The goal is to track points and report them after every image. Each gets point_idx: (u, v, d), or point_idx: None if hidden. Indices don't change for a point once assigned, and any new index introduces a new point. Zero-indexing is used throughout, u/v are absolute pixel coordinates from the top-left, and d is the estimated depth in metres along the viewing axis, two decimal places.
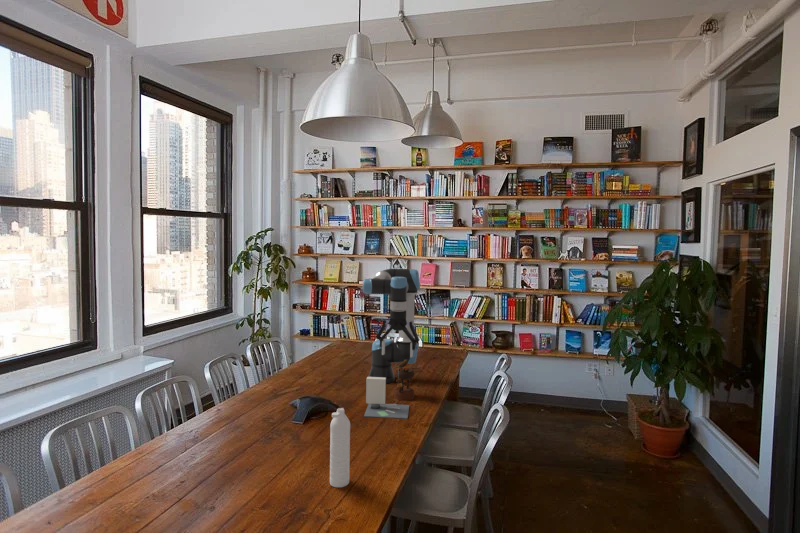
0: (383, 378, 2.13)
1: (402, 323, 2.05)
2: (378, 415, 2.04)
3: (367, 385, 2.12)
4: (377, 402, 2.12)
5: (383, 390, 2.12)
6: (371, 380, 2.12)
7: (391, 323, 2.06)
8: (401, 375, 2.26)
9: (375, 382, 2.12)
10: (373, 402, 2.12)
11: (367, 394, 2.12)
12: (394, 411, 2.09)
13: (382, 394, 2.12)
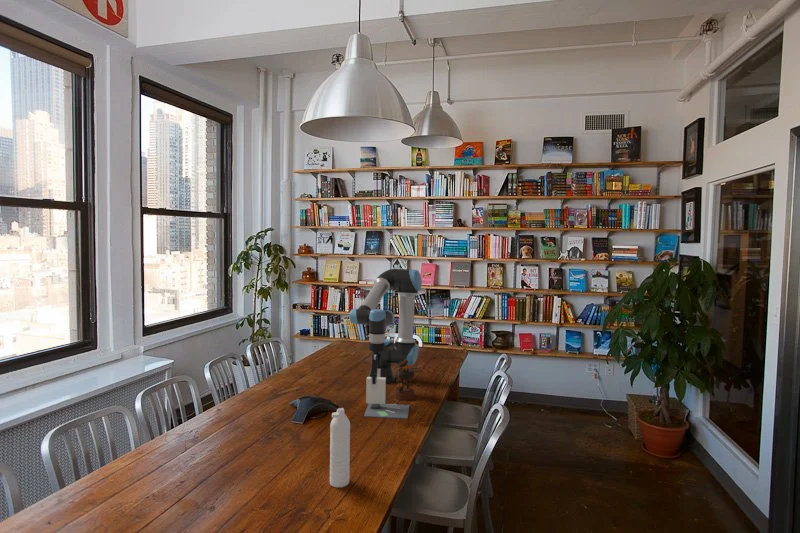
0: (383, 378, 2.13)
1: (373, 355, 2.10)
2: (378, 415, 2.04)
3: (367, 385, 2.12)
4: (377, 402, 2.12)
5: (383, 390, 2.12)
6: None
7: None
8: (401, 375, 2.26)
9: None
10: (373, 402, 2.12)
11: (367, 394, 2.12)
12: (394, 411, 2.09)
13: (382, 394, 2.12)
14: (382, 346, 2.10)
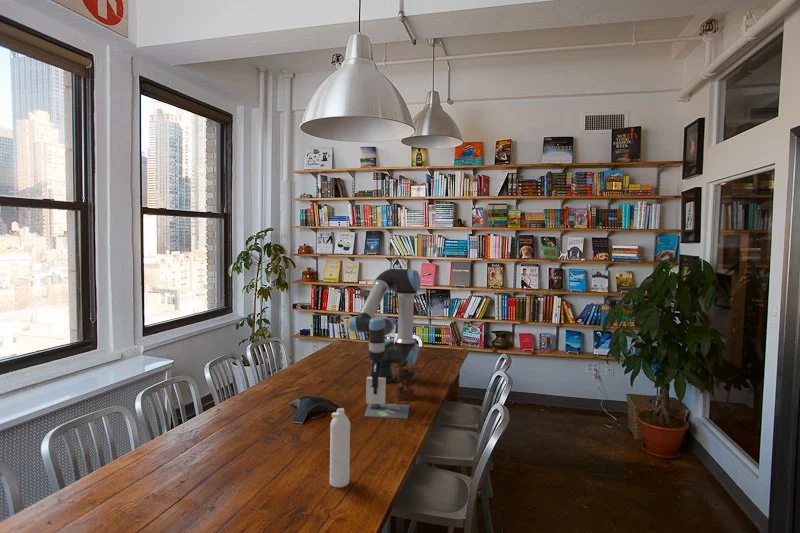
0: (383, 378, 2.13)
1: None
2: (378, 415, 2.04)
3: (367, 385, 2.12)
4: (377, 402, 2.12)
5: (383, 390, 2.12)
6: (371, 380, 2.12)
7: None
8: (401, 375, 2.26)
9: None
10: (373, 402, 2.12)
11: (367, 394, 2.12)
12: (394, 411, 2.09)
13: (382, 394, 2.12)
14: (382, 355, 2.10)
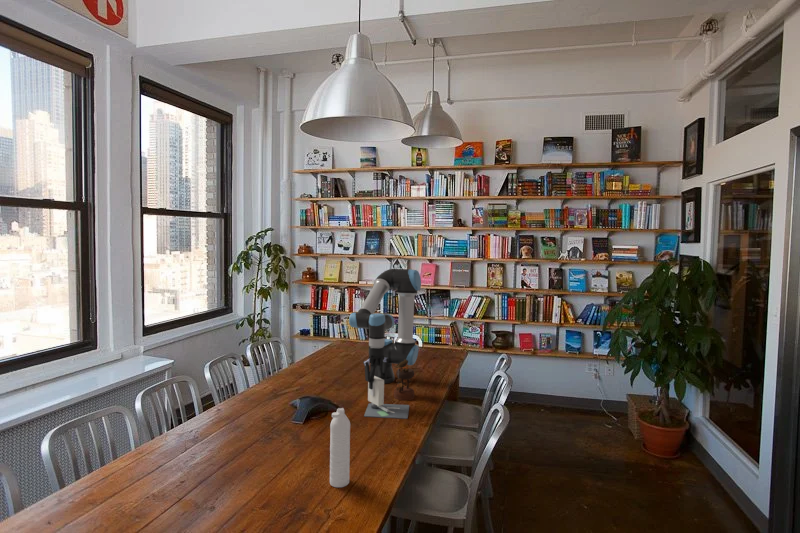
0: (380, 380, 2.10)
1: None
2: (378, 415, 2.04)
3: (368, 383, 2.16)
4: (374, 402, 2.12)
5: (377, 391, 2.10)
6: None
7: None
8: (401, 375, 2.26)
9: (373, 381, 2.13)
10: (372, 401, 2.14)
11: (368, 392, 2.16)
12: (394, 411, 2.09)
13: (377, 395, 2.10)
14: (376, 351, 2.09)
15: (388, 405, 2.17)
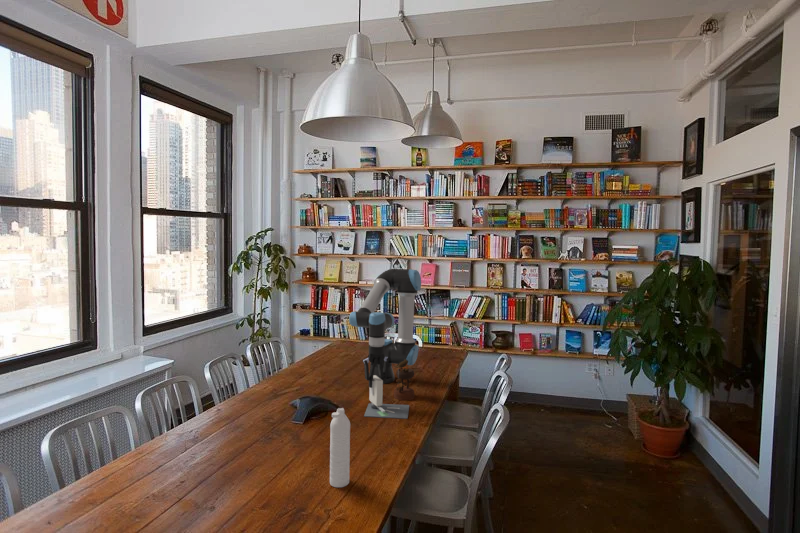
0: (378, 380, 2.10)
1: None
2: (378, 415, 2.04)
3: None
4: (373, 402, 2.12)
5: (376, 391, 2.10)
6: None
7: None
8: (401, 375, 2.26)
9: None
10: (372, 401, 2.14)
11: (369, 391, 2.16)
12: (394, 411, 2.09)
13: (375, 395, 2.10)
14: (374, 350, 2.09)
15: (388, 405, 2.17)
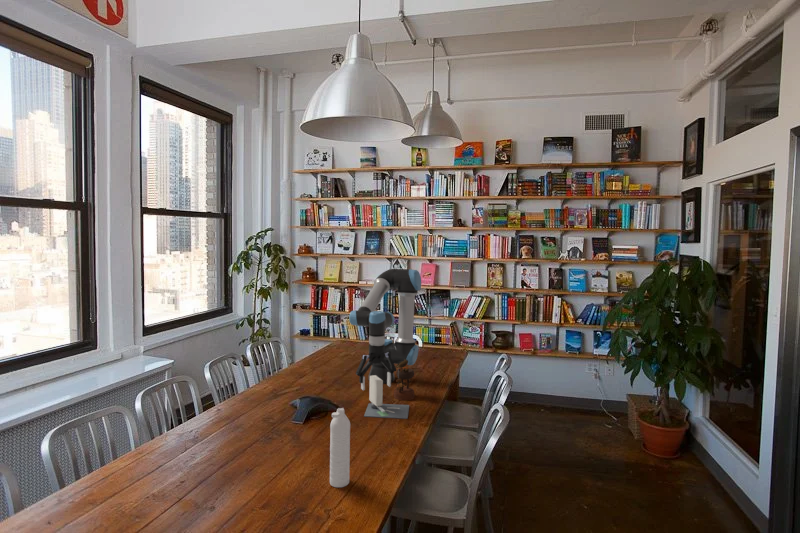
0: (378, 380, 2.10)
1: None
2: (378, 415, 2.04)
3: (370, 382, 2.16)
4: (373, 402, 2.12)
5: (376, 391, 2.10)
6: (371, 378, 2.15)
7: None
8: (401, 375, 2.26)
9: (373, 381, 2.13)
10: (372, 401, 2.14)
11: (369, 391, 2.16)
12: (394, 411, 2.09)
13: (375, 395, 2.10)
14: (374, 349, 2.09)
15: (388, 405, 2.17)
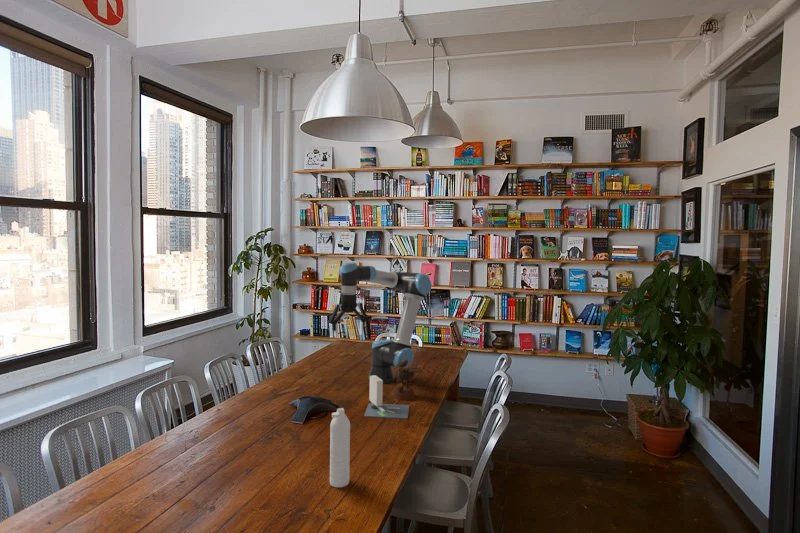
0: (378, 380, 2.10)
1: None
2: (378, 415, 2.04)
3: (370, 382, 2.16)
4: (373, 402, 2.12)
5: (376, 391, 2.10)
6: (371, 378, 2.15)
7: None
8: (401, 375, 2.26)
9: (373, 381, 2.13)
10: (372, 401, 2.14)
11: (369, 391, 2.16)
12: (394, 411, 2.09)
13: (375, 395, 2.10)
14: (347, 297, 2.18)
15: (388, 405, 2.17)
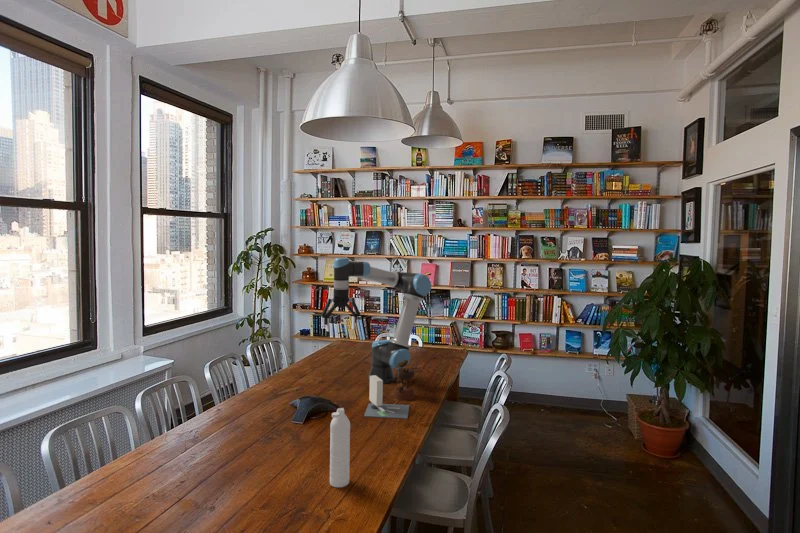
0: (378, 380, 2.10)
1: None
2: (378, 415, 2.04)
3: (370, 382, 2.16)
4: (373, 402, 2.12)
5: (376, 391, 2.10)
6: (371, 378, 2.15)
7: None
8: (401, 375, 2.26)
9: (373, 381, 2.13)
10: (372, 401, 2.14)
11: (369, 391, 2.16)
12: (394, 411, 2.09)
13: (375, 395, 2.10)
14: (338, 292, 2.21)
15: (388, 405, 2.17)
